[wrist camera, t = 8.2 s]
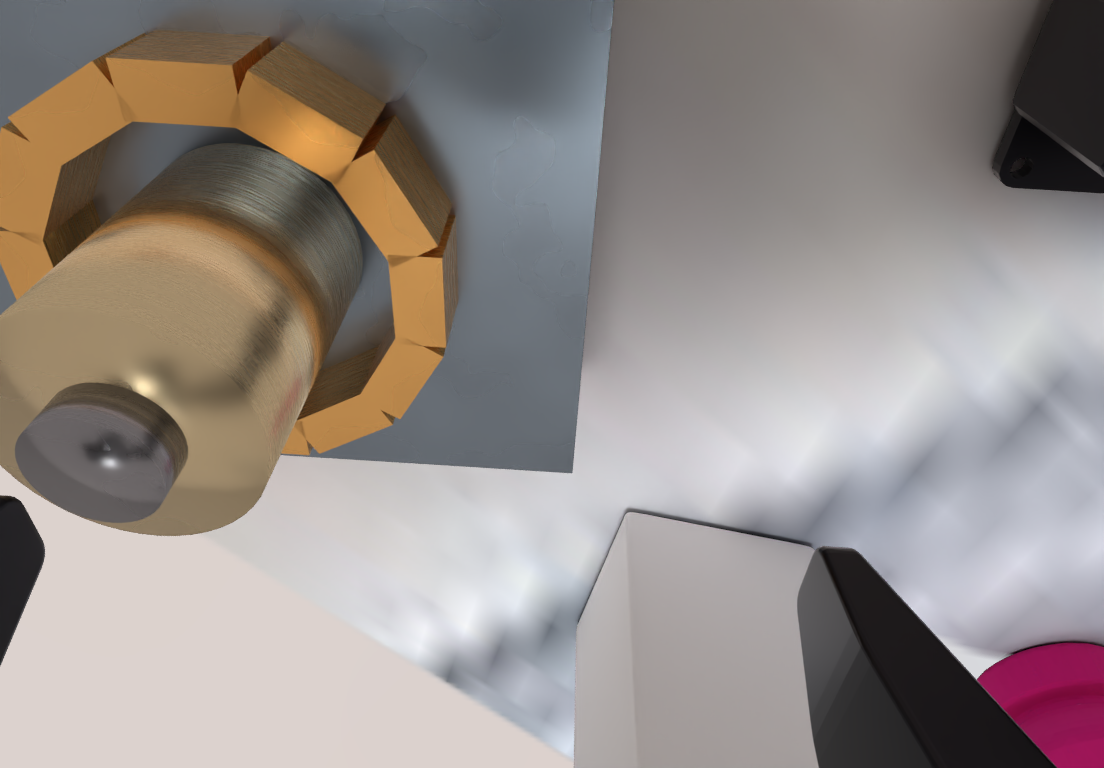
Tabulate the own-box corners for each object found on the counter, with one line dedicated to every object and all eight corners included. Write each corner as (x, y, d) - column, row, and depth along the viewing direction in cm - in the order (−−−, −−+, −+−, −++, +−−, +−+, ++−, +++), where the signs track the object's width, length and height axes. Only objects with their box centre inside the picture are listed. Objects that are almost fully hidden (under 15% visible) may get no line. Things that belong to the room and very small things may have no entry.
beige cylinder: (350, 150, 15) (214, 356, 9) (372, 339, 17) (275, 583, 12) (122, 135, 15) (-145, 333, 9) (178, 326, 17) (-5, 565, 12)
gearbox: (612, -93, 16) (622, -41, 11) (575, 368, 23) (570, 525, 18) (-201, -142, 16) (-557, -112, 11) (17, 334, 23) (-138, 481, 18)
